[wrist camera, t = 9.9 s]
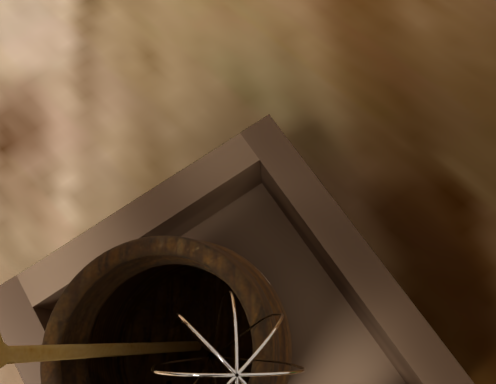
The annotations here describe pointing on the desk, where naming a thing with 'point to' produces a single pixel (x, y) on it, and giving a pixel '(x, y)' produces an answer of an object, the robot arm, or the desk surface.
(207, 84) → the desk surface
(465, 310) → the desk surface
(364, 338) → the socket block
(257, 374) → the utensil holder
